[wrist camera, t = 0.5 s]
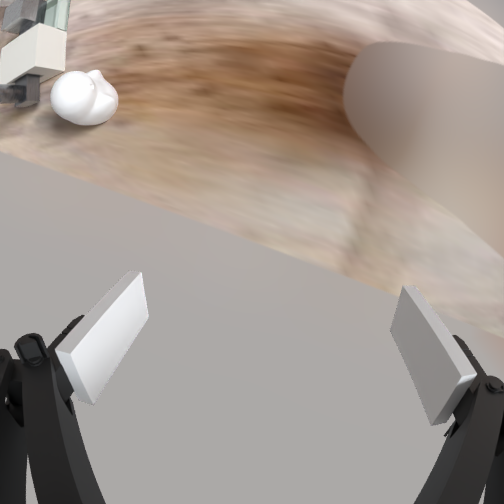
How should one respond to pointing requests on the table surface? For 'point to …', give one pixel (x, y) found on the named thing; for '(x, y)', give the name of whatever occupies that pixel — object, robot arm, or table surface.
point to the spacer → (19, 15)
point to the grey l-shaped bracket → (25, 76)
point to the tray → (57, 14)
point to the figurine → (84, 98)
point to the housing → (34, 54)
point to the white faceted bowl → (6, 2)
